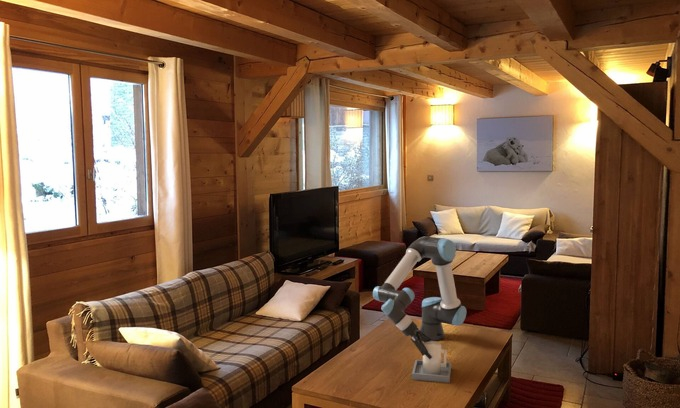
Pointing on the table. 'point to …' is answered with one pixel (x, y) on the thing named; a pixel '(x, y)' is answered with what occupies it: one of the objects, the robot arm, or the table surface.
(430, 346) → the white pitcher
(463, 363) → the table surface
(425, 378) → the slate tray
